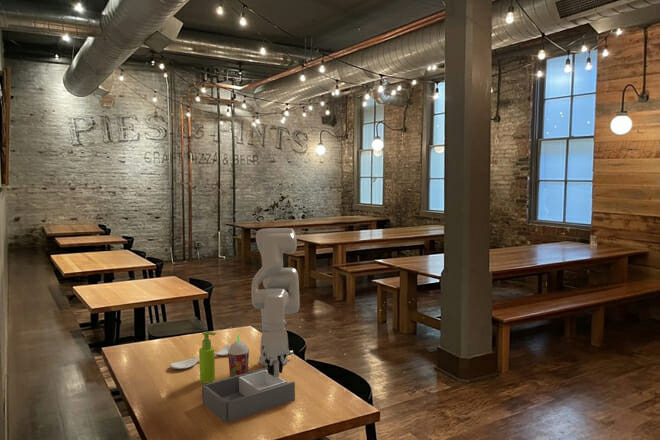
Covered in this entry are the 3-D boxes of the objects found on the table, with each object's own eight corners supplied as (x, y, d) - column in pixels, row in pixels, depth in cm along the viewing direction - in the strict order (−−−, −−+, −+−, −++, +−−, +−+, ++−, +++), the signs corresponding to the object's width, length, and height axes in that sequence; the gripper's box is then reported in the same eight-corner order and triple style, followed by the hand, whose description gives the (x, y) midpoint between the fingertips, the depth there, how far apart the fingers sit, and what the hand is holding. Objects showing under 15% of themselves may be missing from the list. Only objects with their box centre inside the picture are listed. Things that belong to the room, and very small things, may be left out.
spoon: (239, 355, 235) (239, 347, 235) (176, 374, 213) (176, 366, 212) (228, 350, 241) (228, 343, 241) (166, 368, 219) (166, 361, 219)
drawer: (268, 382, 199) (268, 355, 198) (289, 395, 188) (289, 366, 187) (239, 391, 191) (238, 363, 190) (259, 405, 180) (258, 375, 179)
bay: (268, 383, 202) (267, 366, 201) (294, 400, 187) (294, 382, 186) (202, 403, 184) (201, 385, 184) (226, 423, 170) (225, 403, 169)
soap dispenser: (213, 383, 202) (212, 335, 200) (197, 382, 204) (196, 334, 202) (219, 377, 208) (218, 330, 206) (204, 376, 209) (202, 329, 207)
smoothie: (253, 381, 205) (252, 333, 203) (243, 389, 197) (242, 339, 195) (235, 378, 207) (234, 331, 206) (224, 386, 199) (223, 337, 198)
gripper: (287, 320, 198) (287, 365, 200) (250, 327, 188) (251, 375, 190) (298, 324, 192) (298, 371, 194) (260, 332, 182) (261, 381, 184)
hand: (275, 372), depth 192 cm, fingers closed on drawer, 3 cm apart
